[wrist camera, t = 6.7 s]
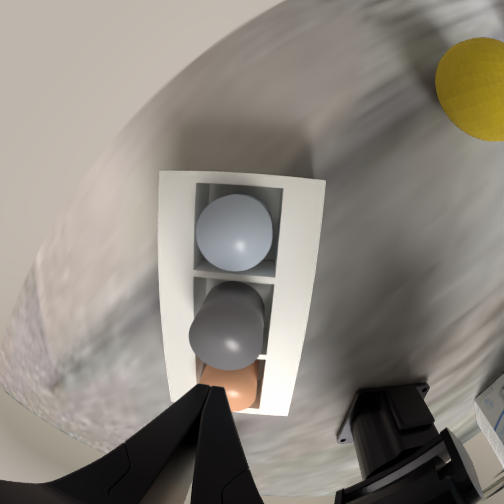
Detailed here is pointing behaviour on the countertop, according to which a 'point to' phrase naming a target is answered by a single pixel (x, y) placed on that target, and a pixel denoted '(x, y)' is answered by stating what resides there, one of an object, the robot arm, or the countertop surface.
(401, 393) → the robot arm
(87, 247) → the countertop surface
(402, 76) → the countertop surface
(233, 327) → the charcoal button
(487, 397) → the light bulb box
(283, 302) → the frame
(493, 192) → the countertop surface
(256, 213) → the slate button
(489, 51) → the lemon
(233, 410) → the terracotta button
